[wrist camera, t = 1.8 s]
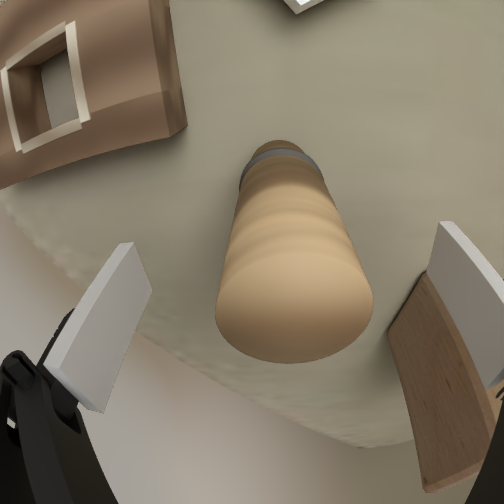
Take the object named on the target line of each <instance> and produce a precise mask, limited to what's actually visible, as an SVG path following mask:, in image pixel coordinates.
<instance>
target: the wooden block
mask: <svg viewBox="0 0 504 504" xmlns="http://www.w3.org/2000/svg"><path fill="white" fill-rule="evenodd" d="M426 272H427V271H426ZM426 272H425V273H424V274H423V275H422V276H421V278H420V280H419V281H418V283H417V285H416V287H415V288H414V290H413V292H412V293H411V295H410V297H409V298H408V300H407V302H406V303H405V305H404V307H403V308H402V310H401V311H400V313H399V314H398V316H397V318H396V319H395V321H394V322H393V324H392V325H391V327H390V328H389V330H388V341H389V344H390V347H391V350H392V354H393V357H394V360H395V364H396V367H397V370H398V374H399V377H400V381H401V385H402V388H403V392H404V396H405V400H406V404H407V408H408V412H409V416H410V421H411V425H412V430H413V435H414V439H415V444H416V450H417V455H418V460H419V466H420V472H421V479H422V486H423V489H424V491H425V492H426V493H437V492H439V491H442V490H445V489H447V488H450V487H452V486H455V485H457V484H459V483H462V482H464V481H466V480H468V479H470V478H473V477H475V476H476V475H478V474H479V472H480V470H481V467H482V465H483V462H484V460H485V457H486V454H487V451H488V449H489V446H490V443H491V440H492V437H493V434H494V430H495V427H496V424H497V420H498V416H499V413H500V409H501V405H502V400H500V399H501V398H502V397H503V396H504V392H503V393H502V394H501V395H500V396H499V397H498V399H497V398H495V397H496V395H497V393H498V392H499V391H500V390H501V389H502V388H503V387H504V379H503V380H502V381H501V382H500V383H499V384H498V385H495V386H493V387H491V388H488V389H486V390H485V389H484V386H483V384H482V381H481V379H480V376H479V374H478V371H477V369H476V367H475V364H474V362H473V360H472V358H471V355H470V353H469V351H468V349H467V347H466V345H465V343H464V341H463V338H462V336H461V334H460V332H459V330H458V328H457V327H456V325H455V323H454V321H453V319H452V317H451V315H450V313H449V311H448V310H447V308H446V306H445V304H444V302H443V300H442V299H441V297H440V295H439V293H438V292H437V290H436V288H435V287H434V285H433V283H432V282H431V280H430V278H429V277H428V275H427V273H426Z"/></svg>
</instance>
